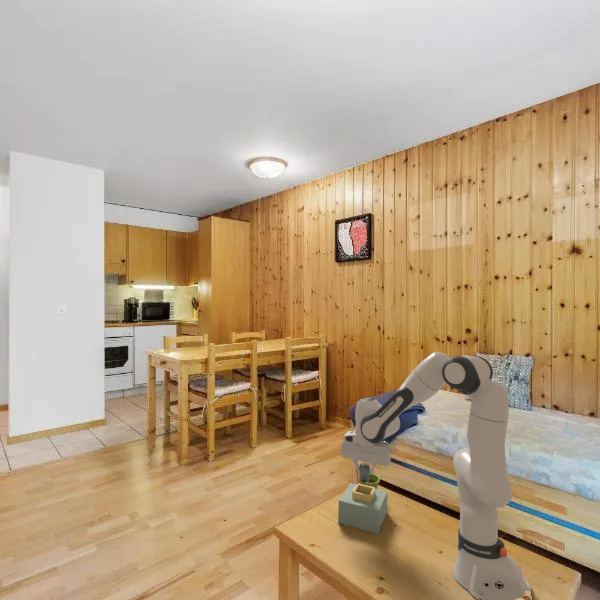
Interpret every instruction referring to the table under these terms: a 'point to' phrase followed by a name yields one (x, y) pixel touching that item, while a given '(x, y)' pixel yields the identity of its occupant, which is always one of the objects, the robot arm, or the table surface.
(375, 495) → the box with square opening
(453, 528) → the table surface
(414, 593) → the table surface
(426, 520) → the table surface
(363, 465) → the cylinder
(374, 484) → the plant pot
